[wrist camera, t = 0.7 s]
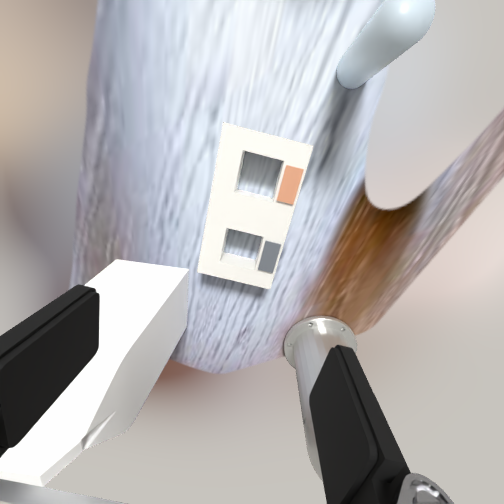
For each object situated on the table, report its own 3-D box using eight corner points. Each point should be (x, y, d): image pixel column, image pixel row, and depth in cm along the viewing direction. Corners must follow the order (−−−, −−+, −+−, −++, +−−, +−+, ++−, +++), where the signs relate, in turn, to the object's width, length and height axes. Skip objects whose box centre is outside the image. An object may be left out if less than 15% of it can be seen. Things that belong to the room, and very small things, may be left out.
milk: (188, 269, 40) (72, 435, 16) (186, 326, 44) (91, 528, 20) (116, 259, 40) (-109, 410, 16) (121, 317, 44) (-54, 508, 20)
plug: (374, 80, 30) (439, 32, 19) (341, 95, 31) (385, 58, 19) (366, 42, 29) (430, -32, 18) (332, 59, 29) (373, -3, 18)
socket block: (269, 277, 40) (270, 290, 36) (203, 261, 40) (196, 272, 36) (308, 147, 33) (314, 145, 29) (228, 126, 33) (222, 121, 29)
